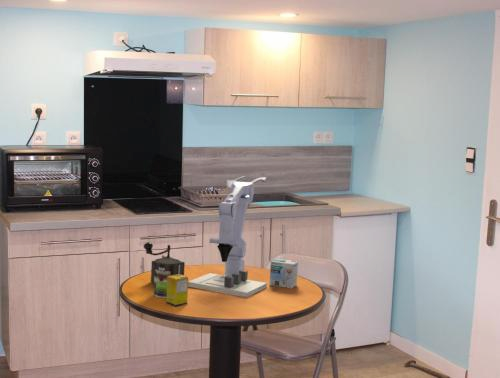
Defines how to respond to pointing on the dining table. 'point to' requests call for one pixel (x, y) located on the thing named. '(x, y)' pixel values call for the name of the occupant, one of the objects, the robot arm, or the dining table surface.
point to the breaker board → (217, 285)
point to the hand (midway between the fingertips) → (224, 261)
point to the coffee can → (164, 275)
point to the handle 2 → (243, 275)
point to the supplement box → (177, 290)
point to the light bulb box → (283, 273)
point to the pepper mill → (148, 248)
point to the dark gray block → (236, 278)
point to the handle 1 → (228, 281)
